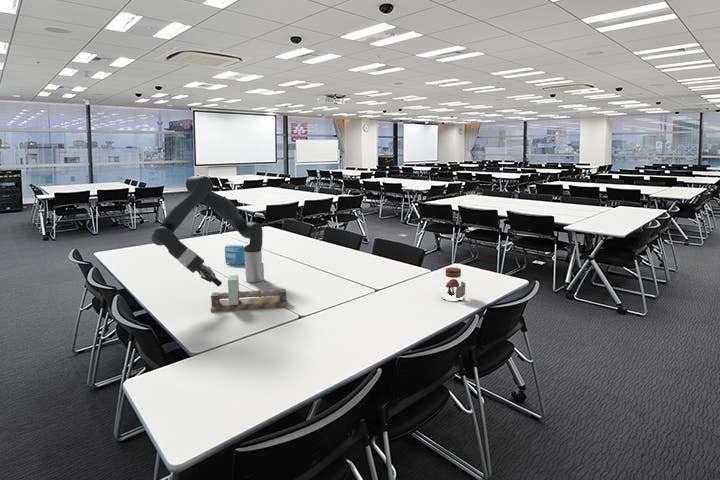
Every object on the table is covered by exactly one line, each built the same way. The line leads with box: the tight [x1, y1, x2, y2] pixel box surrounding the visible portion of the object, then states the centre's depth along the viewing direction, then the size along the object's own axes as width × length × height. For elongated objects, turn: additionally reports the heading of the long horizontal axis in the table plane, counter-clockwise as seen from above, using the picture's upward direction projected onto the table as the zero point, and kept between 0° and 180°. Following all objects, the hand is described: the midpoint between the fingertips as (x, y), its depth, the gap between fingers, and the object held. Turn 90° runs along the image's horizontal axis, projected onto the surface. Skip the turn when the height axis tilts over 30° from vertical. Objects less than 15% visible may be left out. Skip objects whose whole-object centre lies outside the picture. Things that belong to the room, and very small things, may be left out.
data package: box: [224, 244, 245, 265], centre depth 289 cm, size 12×4×12 cm, turn 75°
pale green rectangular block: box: [227, 274, 241, 305], centre depth 208 cm, size 4×8×12 cm, turn 10°
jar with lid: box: [445, 266, 466, 298], centre depth 218 cm, size 12×13×15 cm
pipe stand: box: [210, 288, 288, 313], centre depth 210 cm, size 34×12×7 cm, turn 100°
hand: (220, 284), depth 206 cm, fingers closed
